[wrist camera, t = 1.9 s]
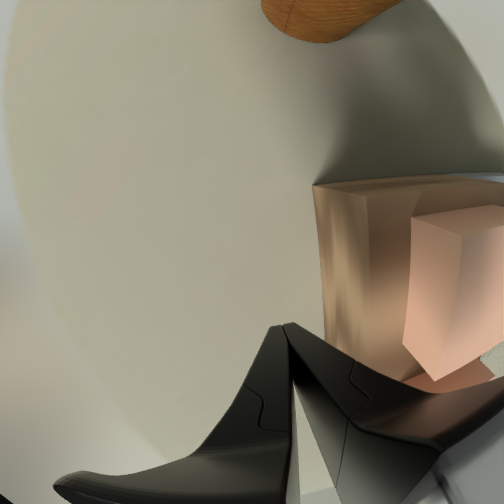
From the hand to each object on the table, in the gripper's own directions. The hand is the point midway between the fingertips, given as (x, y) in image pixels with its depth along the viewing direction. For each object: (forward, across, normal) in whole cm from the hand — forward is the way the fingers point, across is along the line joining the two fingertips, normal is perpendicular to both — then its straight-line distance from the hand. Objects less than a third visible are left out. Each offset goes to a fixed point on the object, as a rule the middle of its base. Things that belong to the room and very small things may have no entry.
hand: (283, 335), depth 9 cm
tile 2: (+1, -9, 0) cm, 9 cm away
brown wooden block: (+8, -9, +4) cm, 13 cm away
